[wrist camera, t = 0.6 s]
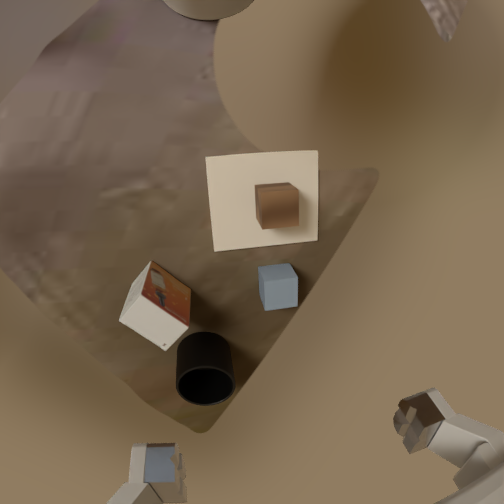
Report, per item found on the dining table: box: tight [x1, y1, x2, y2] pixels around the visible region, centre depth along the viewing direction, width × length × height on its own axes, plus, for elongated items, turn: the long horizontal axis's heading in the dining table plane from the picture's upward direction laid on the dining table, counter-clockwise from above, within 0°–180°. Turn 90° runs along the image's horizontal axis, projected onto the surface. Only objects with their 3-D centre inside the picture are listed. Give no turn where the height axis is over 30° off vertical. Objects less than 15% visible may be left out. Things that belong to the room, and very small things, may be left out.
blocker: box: [254, 182, 299, 230], centre depth 44 cm, size 5×5×5 cm
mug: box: [176, 332, 235, 406], centre depth 52 cm, size 9×12×9 cm
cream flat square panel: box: [206, 150, 318, 252], centre depth 47 cm, size 14×16×1 cm
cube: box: [258, 263, 298, 311], centre depth 50 cm, size 5×5×5 cm
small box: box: [119, 261, 191, 351], centre depth 45 cm, size 8×6×10 cm
